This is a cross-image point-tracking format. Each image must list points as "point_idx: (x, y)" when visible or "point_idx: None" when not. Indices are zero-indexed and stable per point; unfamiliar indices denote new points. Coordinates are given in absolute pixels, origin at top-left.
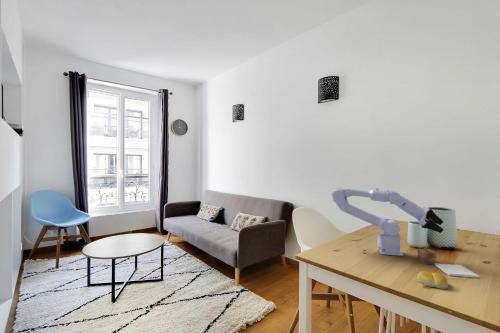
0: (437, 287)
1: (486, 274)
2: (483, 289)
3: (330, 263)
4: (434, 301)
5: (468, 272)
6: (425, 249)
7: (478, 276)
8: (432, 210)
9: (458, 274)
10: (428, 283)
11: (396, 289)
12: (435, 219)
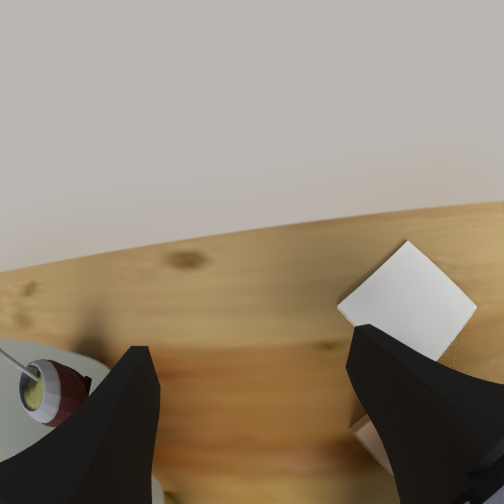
0: None
1: (344, 236)
2: (478, 223)
3: None
4: None
5: (406, 268)
6: (379, 447)
7: (408, 242)
8: (5, 472)
9: (455, 285)
10: None
11: None
12: (136, 435)
